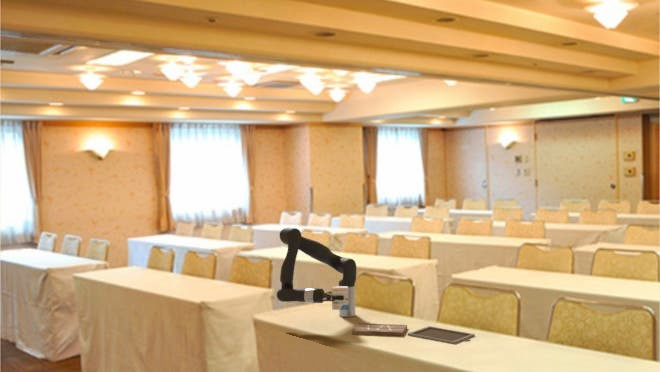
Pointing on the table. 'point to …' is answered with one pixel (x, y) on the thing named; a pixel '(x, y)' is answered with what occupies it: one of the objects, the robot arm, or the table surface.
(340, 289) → the ink box
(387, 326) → the walnut board
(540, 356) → the table surface
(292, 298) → the robot arm
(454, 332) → the grey framed brown panel
